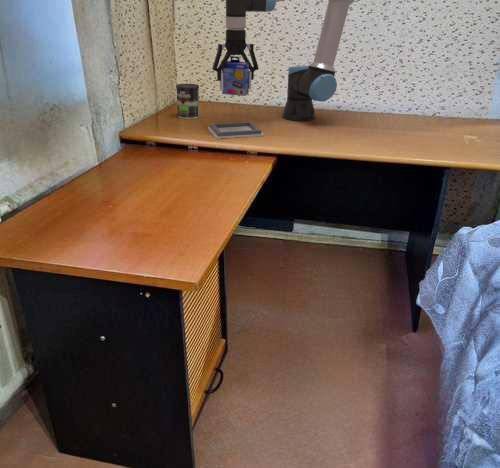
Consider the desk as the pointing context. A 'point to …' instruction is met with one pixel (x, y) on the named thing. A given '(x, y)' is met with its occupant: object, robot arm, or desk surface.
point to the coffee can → (188, 101)
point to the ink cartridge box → (236, 77)
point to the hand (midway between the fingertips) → (235, 88)
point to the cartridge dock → (234, 130)
